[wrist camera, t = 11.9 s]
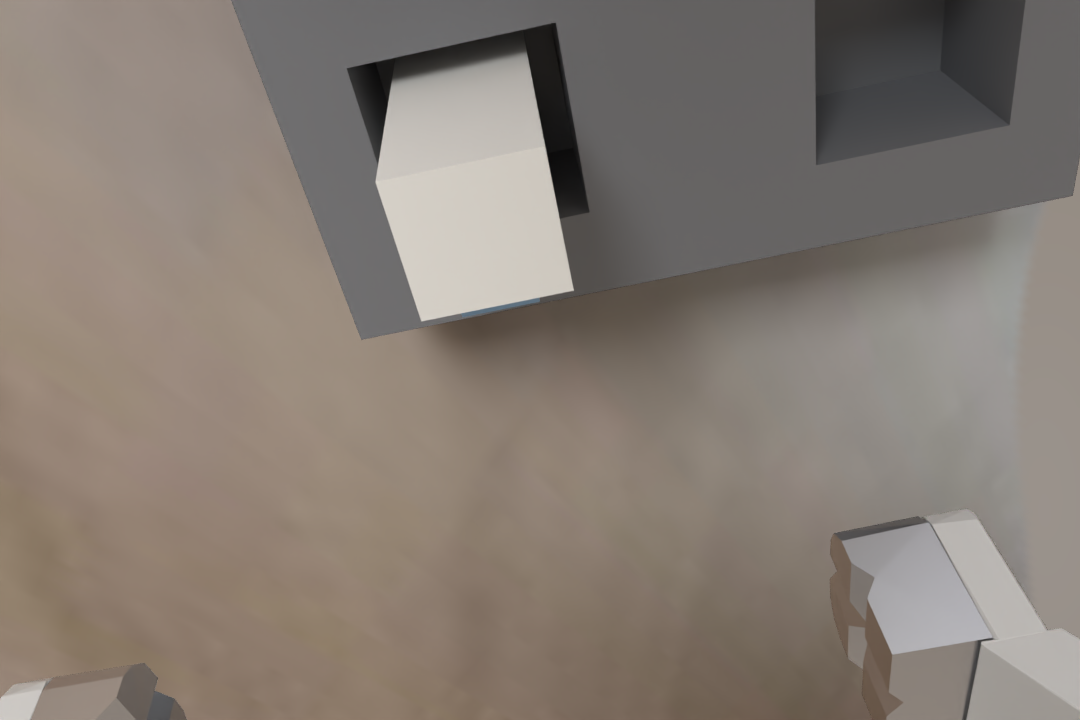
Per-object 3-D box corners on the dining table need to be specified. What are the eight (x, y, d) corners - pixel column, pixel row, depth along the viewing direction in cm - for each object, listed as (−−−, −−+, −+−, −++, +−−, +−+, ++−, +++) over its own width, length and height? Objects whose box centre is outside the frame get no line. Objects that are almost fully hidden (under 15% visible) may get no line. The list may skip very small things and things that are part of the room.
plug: (398, 39, 25) (375, 182, 18) (518, 13, 25) (544, 146, 18) (434, 167, 27) (427, 339, 20) (545, 144, 27) (577, 309, 20)
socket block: (261, -73, 24) (221, -24, 20) (1028, -248, 23) (1150, -234, 19) (373, 252, 30) (361, 339, 26) (986, 124, 29) (1072, 195, 25)
